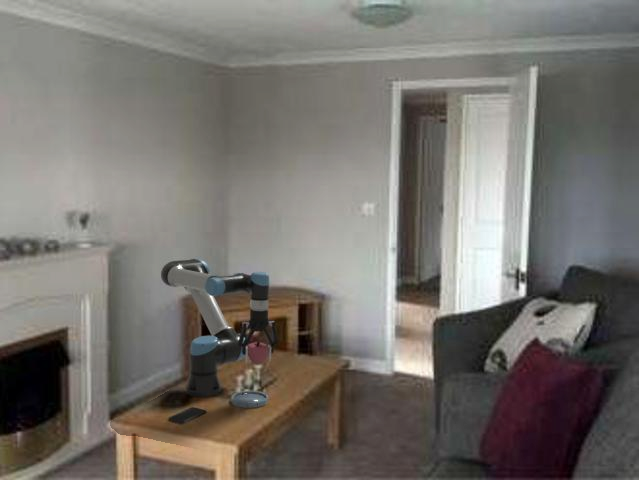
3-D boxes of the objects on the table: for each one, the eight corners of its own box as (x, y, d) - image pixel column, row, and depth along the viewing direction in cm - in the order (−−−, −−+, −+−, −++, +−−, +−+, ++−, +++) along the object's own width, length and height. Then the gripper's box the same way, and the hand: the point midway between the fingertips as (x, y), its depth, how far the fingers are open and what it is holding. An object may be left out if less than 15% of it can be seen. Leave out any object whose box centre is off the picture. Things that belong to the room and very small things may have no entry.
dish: (233, 408, 272) (234, 403, 271) (229, 396, 286) (229, 391, 286) (270, 406, 275) (270, 401, 275) (264, 394, 290) (265, 390, 289)
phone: (208, 410, 266) (182, 422, 253) (207, 413, 267) (182, 425, 253) (192, 406, 270) (166, 418, 257) (192, 409, 270) (166, 420, 257)
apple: (272, 364, 286) (273, 341, 284) (257, 368, 279) (258, 344, 278) (257, 359, 292) (258, 336, 291) (242, 363, 286) (242, 340, 285)
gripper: (234, 311, 276) (233, 365, 279) (286, 310, 283) (285, 362, 285) (231, 307, 283) (230, 360, 286) (282, 306, 290) (280, 357, 292)
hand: (257, 361), depth 285 cm, fingers closed on apple, 9 cm apart
